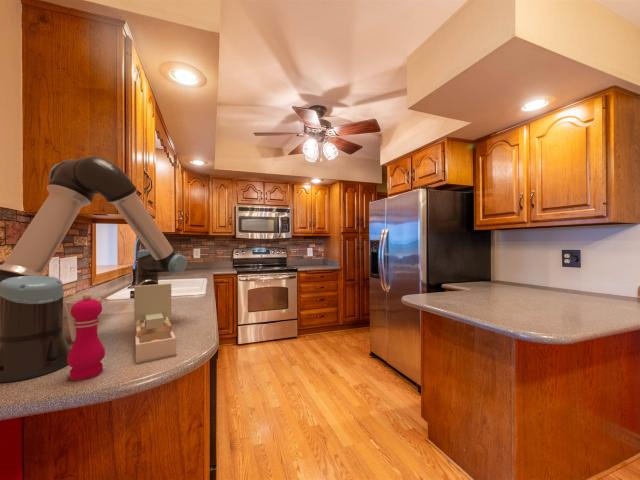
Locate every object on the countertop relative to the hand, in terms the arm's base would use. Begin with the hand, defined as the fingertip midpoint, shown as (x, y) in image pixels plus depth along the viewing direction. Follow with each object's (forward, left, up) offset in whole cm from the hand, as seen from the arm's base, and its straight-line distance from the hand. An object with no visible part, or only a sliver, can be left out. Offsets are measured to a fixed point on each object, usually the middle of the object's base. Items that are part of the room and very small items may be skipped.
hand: (154, 300), depth 90 cm
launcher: (0, +1, -14) cm, 14 cm away
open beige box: (0, -10, -14) cm, 17 cm away
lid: (0, -5, -7) cm, 8 cm away
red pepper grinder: (-19, +19, -14) cm, 31 cm away
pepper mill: (-15, -15, -14) cm, 25 cm away
